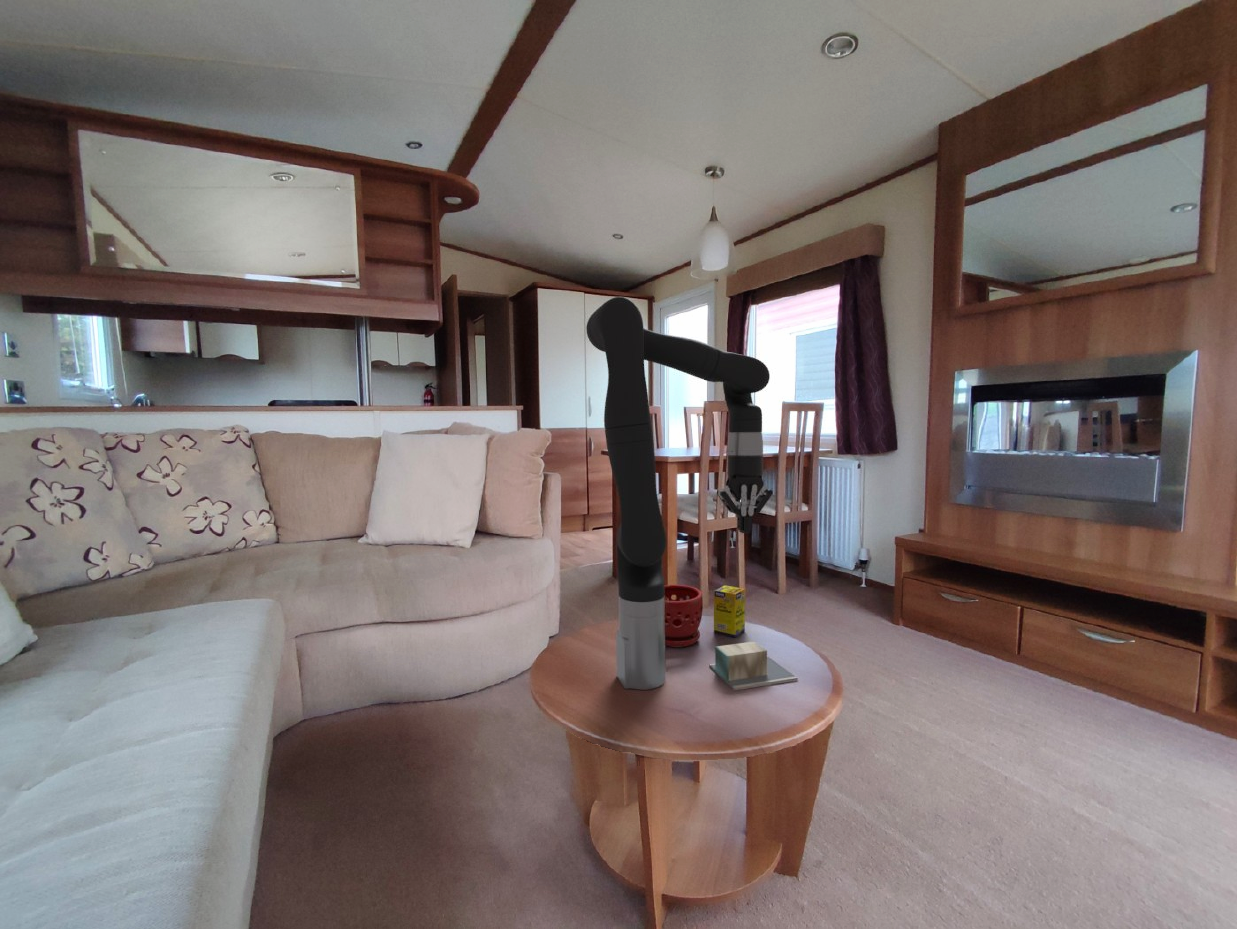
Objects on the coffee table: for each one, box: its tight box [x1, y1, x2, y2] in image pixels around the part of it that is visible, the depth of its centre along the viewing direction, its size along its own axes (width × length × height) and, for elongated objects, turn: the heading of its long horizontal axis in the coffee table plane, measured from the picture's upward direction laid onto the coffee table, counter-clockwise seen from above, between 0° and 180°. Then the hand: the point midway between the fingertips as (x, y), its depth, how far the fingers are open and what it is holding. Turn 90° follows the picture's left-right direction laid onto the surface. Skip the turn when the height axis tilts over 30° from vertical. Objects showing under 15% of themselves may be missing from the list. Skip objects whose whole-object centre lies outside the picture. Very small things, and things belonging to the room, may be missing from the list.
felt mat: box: [708, 655, 799, 691], centre depth 106 cm, size 14×11×1 cm
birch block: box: [714, 641, 768, 681], centre depth 105 cm, size 5×5×9 cm
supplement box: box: [713, 584, 746, 638], centre depth 129 cm, size 6×6×11 cm
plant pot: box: [664, 584, 704, 648], centre depth 124 cm, size 13×13×12 cm
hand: (744, 532), depth 112 cm, fingers closed
